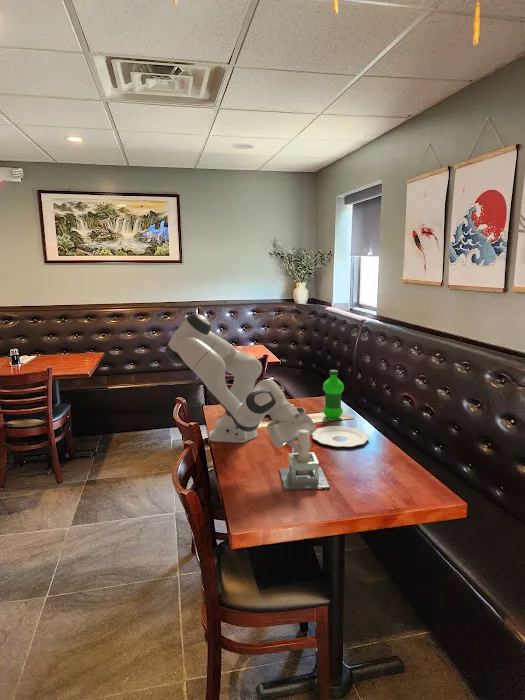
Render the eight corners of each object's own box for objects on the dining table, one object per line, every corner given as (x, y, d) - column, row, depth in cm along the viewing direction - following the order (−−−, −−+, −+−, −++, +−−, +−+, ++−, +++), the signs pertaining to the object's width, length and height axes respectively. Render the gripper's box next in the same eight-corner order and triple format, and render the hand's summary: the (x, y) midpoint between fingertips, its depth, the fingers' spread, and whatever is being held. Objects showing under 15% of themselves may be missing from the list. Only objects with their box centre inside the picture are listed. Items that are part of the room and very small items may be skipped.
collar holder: (284, 490, 154) (284, 468, 153) (279, 470, 170) (279, 449, 169) (329, 489, 155) (330, 466, 154) (320, 468, 171) (321, 448, 170)
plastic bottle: (330, 413, 236) (331, 367, 231) (346, 418, 228) (348, 370, 224) (318, 417, 229) (319, 370, 225) (334, 422, 222) (335, 374, 217)
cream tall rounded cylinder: (298, 476, 160) (298, 433, 157) (296, 470, 164) (297, 429, 161) (309, 475, 160) (310, 433, 158) (307, 470, 164) (308, 429, 162)
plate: (333, 454, 184) (334, 450, 184) (301, 435, 206) (301, 431, 206) (380, 443, 196) (380, 439, 195) (344, 426, 218) (344, 422, 217)
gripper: (269, 419, 156) (290, 454, 151) (306, 407, 170) (326, 437, 165) (260, 428, 160) (280, 462, 155) (297, 415, 174) (317, 445, 169)
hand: (304, 449), depth 160 cm, fingers closed on cream tall rounded cylinder, 4 cm apart
